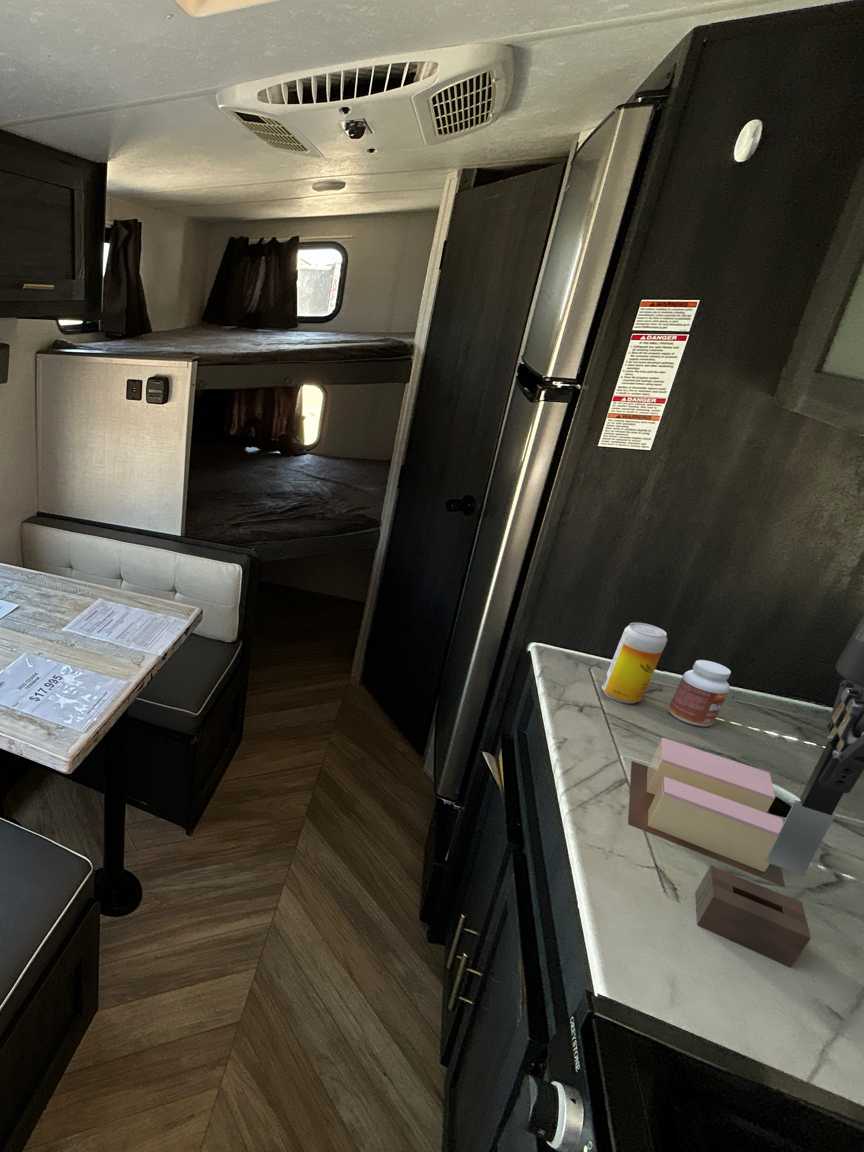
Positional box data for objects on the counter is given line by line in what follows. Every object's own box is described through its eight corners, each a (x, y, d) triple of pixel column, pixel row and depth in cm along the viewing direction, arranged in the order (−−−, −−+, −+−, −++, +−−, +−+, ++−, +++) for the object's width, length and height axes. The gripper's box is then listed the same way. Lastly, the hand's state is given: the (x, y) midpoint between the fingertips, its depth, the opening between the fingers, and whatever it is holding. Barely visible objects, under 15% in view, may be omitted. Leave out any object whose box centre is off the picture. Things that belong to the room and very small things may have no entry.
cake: (751, 806, 95) (769, 772, 93) (755, 832, 91) (775, 797, 88) (647, 769, 103) (662, 737, 100) (646, 792, 98) (662, 758, 96)
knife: (802, 870, 72) (865, 750, 66) (804, 879, 71) (869, 757, 65) (764, 856, 74) (823, 738, 68) (766, 865, 73) (825, 746, 67)
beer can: (644, 709, 119) (673, 640, 113) (603, 699, 122) (630, 632, 116) (636, 692, 124) (664, 626, 118) (597, 683, 127) (623, 618, 121)
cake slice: (761, 854, 87) (782, 818, 85) (764, 872, 85) (786, 836, 82) (648, 810, 95) (664, 776, 92) (647, 826, 92) (664, 791, 89)
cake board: (765, 813, 95) (768, 808, 95) (782, 892, 83) (785, 887, 82) (629, 765, 105) (631, 760, 105) (625, 829, 93) (627, 824, 92)
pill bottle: (708, 732, 113) (733, 680, 109) (663, 715, 117) (686, 665, 113) (715, 719, 116) (740, 668, 112) (671, 703, 121) (694, 653, 117)
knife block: (780, 936, 77) (802, 902, 75) (787, 973, 73) (811, 938, 71) (692, 898, 82) (710, 864, 80) (693, 930, 78) (713, 896, 76)
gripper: (1004, 690, 54) (900, 839, 61) (952, 631, 64) (868, 765, 71) (871, 659, 59) (788, 800, 66) (842, 608, 69) (772, 736, 75)
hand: (830, 781), depth 68 cm, fingers closed on knife, 1 cm apart
